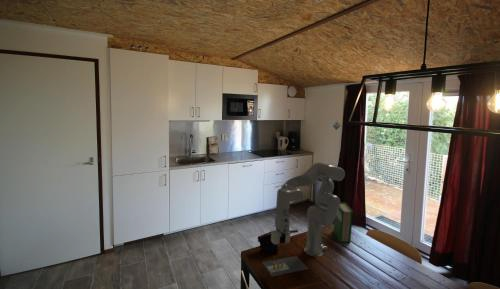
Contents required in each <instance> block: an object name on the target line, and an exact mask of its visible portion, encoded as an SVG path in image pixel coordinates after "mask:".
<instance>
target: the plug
mask: <svg viewBox="0 0 500 289" xmlns="http://www.w3.org/2000/svg"><path fill="white" fill-rule="evenodd" d="M283 231H284V230H283ZM270 232H271V242H272V243H273V244H277V245H281V244H283V243H280V236H281V231H280V230H276V229H275V230H271V231H270ZM295 233H299V230H298V229H294V230H293V229H292V230H289V232H288V235H286V237H285V243H284V244H287V243H290V242H291V241H290V240H291V234H295ZM283 234H284V232H283Z"/></svg>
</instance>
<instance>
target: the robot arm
mask: <svg viewBox="0 0 500 289" xmlns="http://www.w3.org/2000/svg"><path fill="white" fill-rule="evenodd" d="M345 176H346V172H345V169H343V168H342V167H339V166H336V165H332V164H328V163H323V162H315V163H313V165H312V166H310V167H309V168H308V169H307V170H306V171H304V173H302V174H301V175H300V174H299V175H296V176H295V177H292V178H290V179H288V180H286V182H284V183H283V184H282V186H281V187H280V188H278V189H277V192H276V194H277V195H276V206H275V216H274V217H275V218H274V226H275V231H276V230H280V231H281V236H280V243H282V244H286V243H285V237H286V235H288V232H289V231H290V208H291V206H290V204H291V203H293V202H294V203H296V202H300V201H301V200H302V199H303V197H304V192H303V191H302V190H301V189H299V187H300V188H301V187H310V186H313V185H314V184H315V183H316V182H317V181H319V179H321V184H320V186H319V189H318V191H317V194H316V196H315V200H314V201H315V203H316V204H317V205H318V206H315V205H311V206H310V207H308V209H307V212H306V218H307V234H306V246H305V247H304V249H303V251H304V253H306V255H309V256H311V257H321V256H323V254H324V250H328V246H327V245H324V244H323V231H324V230H323V229H324V228H323V227H328V228H329V227H331V226H332V225H333V224H334V219H335V217H336V214H337V212H338V209H339V207H340V202H341V199H340V198H339V196H337V195H336V194H333V193H334V189H335V183H334V181H337V182H340V181H343V179H345ZM319 206H320V207H319ZM324 208H325V209H324ZM283 230H284V231H283ZM283 232H284V234H283Z"/></svg>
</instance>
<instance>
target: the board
mask: <svg viewBox="0 0 500 289" xmlns="http://www.w3.org/2000/svg"><path fill="white" fill-rule="evenodd" d="M261 264H262V265H263V266H264V267H265V269H266V271H267V272H268V274H269V275H270V277H276V276H281V275H285V274H290V273H296V272H301V271H304V270H309V267H307V265H306V264H305V263H304V262H303V261H302V260H301V259H300V258H299V257H298V255H295V256H289V257H283V258H279V259H275V260H274V259H273V260H267V261H262V263H261Z"/></svg>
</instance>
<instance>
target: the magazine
mask: <svg viewBox="0 0 500 289" xmlns="http://www.w3.org/2000/svg"><path fill="white" fill-rule="evenodd" d="M257 242H258V243H259V248H260V253H261V254H262V253H264V254H278V252H279V248H278V244H273V243H272V242H271V231H269V232H267V233H263V234H261V235H258V236H257Z"/></svg>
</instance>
